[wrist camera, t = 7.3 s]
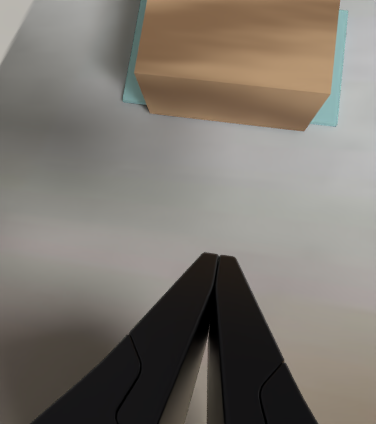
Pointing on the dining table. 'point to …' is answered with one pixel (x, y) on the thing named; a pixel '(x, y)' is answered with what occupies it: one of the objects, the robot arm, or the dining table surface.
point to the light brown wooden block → (238, 60)
